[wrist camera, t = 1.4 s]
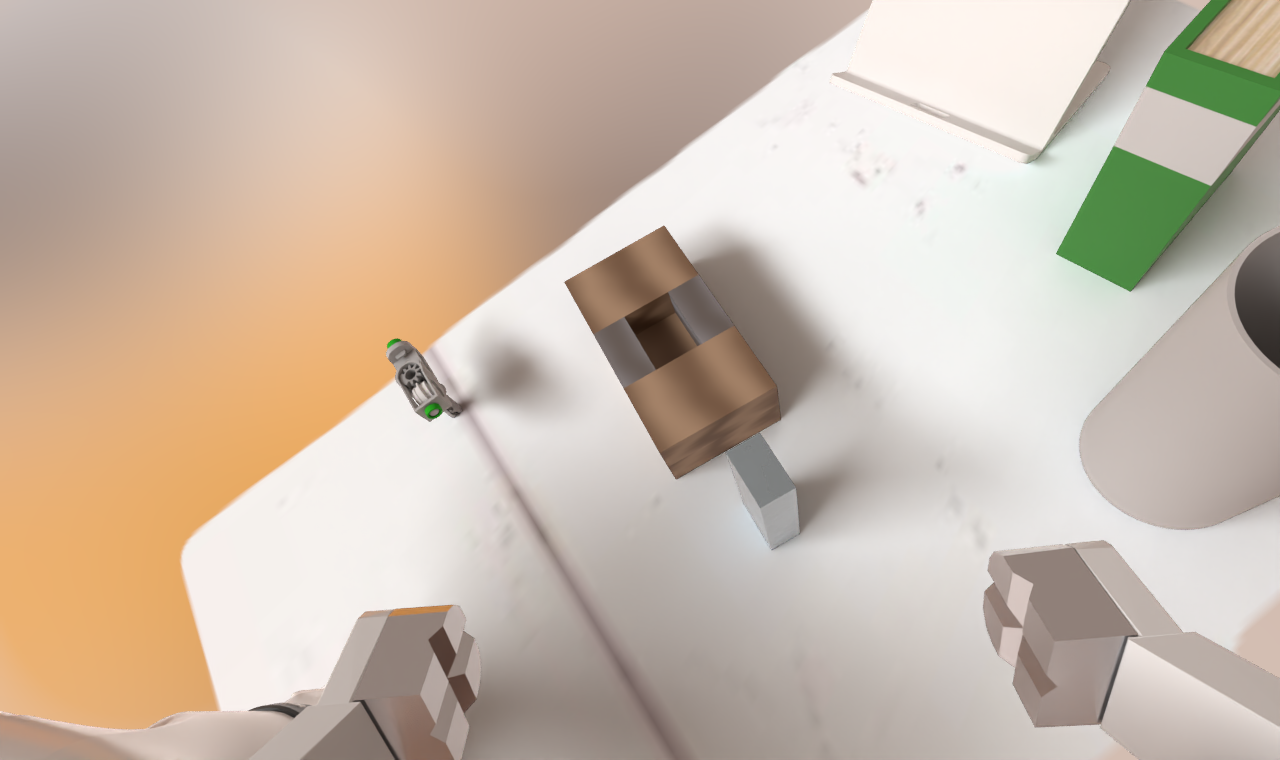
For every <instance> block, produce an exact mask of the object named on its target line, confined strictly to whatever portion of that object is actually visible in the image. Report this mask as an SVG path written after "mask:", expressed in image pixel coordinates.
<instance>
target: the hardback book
mask: <svg viewBox="0 0 1280 760" xmlns="http://www.w3.org/2000/svg"><path fill="white" fill-rule="evenodd" d="M1279 110H1280V0H1211V1H1210V2H1209V3H1208V4H1207V5H1206V6H1205V7H1204V8H1203V10H1202V11H1201V12H1200V13H1199V14H1198V15H1197V16H1196V17H1195V18H1194V19H1193V21H1192V22H1191V23H1190V24H1189V25H1188V26H1187V27H1186V28H1185V29H1184V30H1183V32H1182V33H1181V34H1180V35H1179V36H1178V37H1177V38H1176V39H1175V40H1174V41H1173V43H1172V44H1171V45H1170V46H1169V47H1168V48H1167V49H1166V50H1165V51H1164V53H1163V55H1162V57H1161V59H1160V61H1159V62H1158V64H1157V66H1156V68H1155V70H1154V72H1153V74H1152V76H1151V77H1150V79H1149V81H1148V83H1147V85H1146V87H1145V89H1144V90H1143V92H1142V94H1141V96H1140V98H1139V100H1138V102H1137V104H1136V105H1135V107H1134V109H1133V111H1132V113H1131V115H1130V117H1129V118H1128V120H1127V122H1126V124H1125V126H1124V128H1123V130H1122V132H1121V133H1120V135H1119V137H1118V139H1117V141H1116V143H1115V145H1114V146H1113V148H1112V150H1111V152H1110V154H1109V156H1108V158H1107V160H1106V161H1105V163H1104V165H1103V167H1102V169H1101V171H1100V173H1099V174H1098V176H1097V178H1096V180H1095V182H1094V184H1093V186H1092V188H1091V189H1090V191H1089V193H1088V195H1087V197H1086V199H1085V201H1084V202H1083V204H1082V206H1081V208H1080V210H1079V212H1078V214H1077V216H1076V217H1075V219H1074V221H1073V223H1072V225H1071V227H1070V229H1069V230H1068V232H1067V234H1066V236H1065V238H1064V240H1063V242H1062V244H1061V245H1060V247H1059V249H1058V251H1057V253H1056V254H1057V255H1059V256H1061V257H1063V258H1065V259H1067V260H1069V261H1071V262H1073V263H1075V264H1077V265H1079V266H1081V267H1083V268H1085V269H1087V270H1089V271H1091V272H1093V273H1095V274H1097V275H1099V276H1101V277H1103V278H1105V279H1107V280H1109V281H1110V282H1112V283H1114V284H1116V285H1118V286H1120V287H1122V288H1124V289H1126V290H1128V291H1130V292H1131V290H1132V289H1133V288H1134V287H1135V286H1136V284H1137V283H1138V282H1139V281H1140V280H1141V278H1142V277H1143V276H1144V275H1145V274H1146V273H1147V271H1148V270H1149V269H1150V268H1151V267H1152V265H1153V264H1154V263H1155V262H1156V261H1157V260H1158V258H1159V257H1160V256H1161V255H1162V254H1163V252H1164V251H1165V250H1166V249H1167V248H1168V246H1169V245H1170V244H1171V243H1172V242H1173V241H1174V239H1175V238H1176V237H1177V236H1178V235H1179V233H1180V232H1181V231H1182V230H1183V229H1184V227H1185V226H1186V225H1187V224H1188V223H1189V222H1190V220H1191V219H1192V218H1193V217H1194V216H1195V214H1196V213H1197V212H1198V211H1199V210H1200V209H1201V207H1202V206H1203V205H1204V204H1205V203H1206V201H1207V200H1208V199H1209V198H1210V197H1211V195H1212V194H1213V193H1214V192H1215V191H1216V190H1217V188H1218V187H1219V186H1220V185H1221V184H1222V182H1223V181H1224V180H1225V179H1226V178H1227V176H1228V175H1229V174H1230V173H1231V172H1232V171H1233V169H1234V168H1235V167H1236V165H1237V164H1238V163H1239V162H1240V160H1241V159H1242V158H1243V156H1244V155H1245V154H1246V153H1247V151H1248V150H1249V149H1250V148H1251V146H1252V145H1253V144H1254V142H1255V141H1256V140H1257V139H1258V137H1259V136H1260V135H1261V133H1262V132H1263V131H1264V130H1265V128H1266V127H1267V126H1268V125H1269V123H1270V122H1271V121H1272V119H1273V118H1274V117H1275V116H1276V114H1277V113H1278V112H1279Z"/></svg>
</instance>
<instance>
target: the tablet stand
mask: <svg viewBox="0 0 1280 760" xmlns="http://www.w3.org/2000/svg"><path fill="white" fill-rule="evenodd" d="M1130 1H1131V0H873V1H872V4H871V6H870V9H869V12H868V15H867V17H866V20H865V23H864V25H863V28H862V31H861V33H860V36H859V39H858V42H857V44H856V47H855V50H854V52H853V55H852V58H851V61H850V63H849V66H848V69H847V71H846V72H841V73H833V74H832V76H831V79H830V83H831V84H833V85H835V86H838V87H840V88H843V89H845V90H847V91H850V92H852V93H855V94H857V95H859V96H862V97H864V98H867V99H869V100H871V101H874V102H876V103H879V104H881V105H883V106H886V107H888V108H891V109H893V110H895V111H898V112H900V113H902V114H905V115H907V116H910V117H912V118H914V119H917V120H919V121H922V122H924V123H926V124H929V125H931V126H934V127H936V128H938V129H941V130H943V131H946V132H948V133H950V134H953V135H955V136H958V137H960V138H962V139H965V140H967V141H970V142H972V143H974V144H977V145H979V146H982V147H984V148H986V149H989V150H991V151H993V152H996V153H998V154H1001V155H1003V156H1005V157H1008V158H1010V159H1013V160H1015V161H1017V162H1020V163H1024V164H1028V163H1030V162H1031V161H1033V160H1035V159H1037V158H1038V156H1039V155H1040V154H1041V153H1042V152H1043V150H1044V149H1045V148H1046V147H1047V146H1048V144H1049V143H1050V142H1051V141H1052V140H1053V139H1054V137H1055V136H1056V135H1057V134H1058V133H1059V131H1060V130H1061V129H1062V128H1063V127H1064V126H1065V124H1066V123H1067V122H1068V121H1069V120H1070V118H1071V117H1072V116H1073V115H1074V114H1075V112H1076V111H1077V110H1078V109H1079V108H1080V107H1081V105H1082V104H1083V103H1084V102H1085V101H1086V99H1087V98H1088V97H1089V96H1090V95H1091V94H1092V92H1093V91H1094V90H1095V89H1096V88H1097V86H1098V85H1099V84H1100V83H1101V82H1102V80H1103V79H1104V78H1105V77H1106V76H1107V74H1108V72H1109V70H1110V66H1109V65H1108V64H1106V63H1103V62H1100V61H1097V58H1098V56H1099V55H1100V53H1101V51H1102V49H1103V48H1104V46H1105V44H1106V43H1107V41H1108V39H1109V37H1110V36H1111V34H1112V32H1113V31H1114V29H1115V27H1116V25H1117V24H1118V22H1119V20H1120V19H1121V17H1122V15H1123V13H1124V12H1125V10H1126V8H1127V7H1128V5H1129V3H1130Z"/></svg>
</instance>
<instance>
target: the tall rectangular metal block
mask: <svg viewBox="0 0 1280 760" xmlns="http://www.w3.org/2000/svg"><path fill="white" fill-rule="evenodd" d="M726 455H727V458H728V460H729V463H730V466H731V469H732V472H733V475H734V478H735V480H736V483H737V486H738V489H739V492H740V495H741V497H742V500H743V503H744V505H745V507H746V508H747V510H748V512H749V513H750V515H751V517H752V518H753V520H754V522H755V523H756V525H757V527H758V528H759V530H760V532H761V533H762V535H763V537H764V538H765V540H766V542H767V543H768V545H769V547H770V548H771V550H773V549H774V548H776V547H778V546H780V545H781V544H783V543H785V542H787V541H788V540H790V539H792V538H794V537H795V536H797V535H799V534H800V528H799V516H798V505H797V493H796V487H795V485H794V484H793V482H792V481H791V479H790V478H789V476H788V475H787V473H786V472H785V470H784V469H783V467H782V466H781V464H780V463H779V461H778V459H777V458H776V456H775V455H774V453H773V452H772V450H771V449H770V447H769V446H768V444H767V443H766V441H765V440H764V438H763V437H762V435H761V434H760V433H759V434H757V435H755V436H753V437H751V438H750V439H748V440H746V441H744V442H743V443H741V444H739V445H737V446H736V447H734V448H732V449H730V450H729V451H727V452H726Z"/></svg>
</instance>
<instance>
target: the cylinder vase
mask: <svg viewBox="0 0 1280 760" xmlns="http://www.w3.org/2000/svg"><path fill="white" fill-rule="evenodd" d="M1079 450H1080V457H1081V461H1082V464H1083V467H1084V470H1085V472H1086V474H1087V476H1088V478H1089V479H1090V481H1091V482H1092V484H1093V485H1094V487H1095V488H1096V489H1097V490H1098V492H1099V493H1100V494H1101V495H1102V496H1103V497H1104V498H1105V499H1106V500H1107V501H1109V502H1110V503H1111V504H1112V505H1113V506H1115V507H1116V508H1118V509H1119V510H1121V511H1122V512H1124V513H1125V514H1127V515H1129V516H1131V517H1133V518H1135V519H1137V520H1140V521H1142V522H1145V523H1147V524H1151V525H1154V526H1158V527H1162V528H1168V529H1178V530H1190V529H1200V528H1205V527H1209V526H1213V525H1216V524H1218V523H1221V522H1223V521H1225V520H1227V519H1230V518H1232V517H1234V516H1236V515H1239V514H1241V513H1243V512H1245V511H1248V510H1250V509H1252V508H1254V507H1256V506H1259V505H1261V504H1263V503H1265V502H1268V501H1270V500H1272V499H1274V498H1276V497H1279V496H1280V226H1278V227H1276V228H1274V229H1272V230H1270V231H1268V232H1266V233H1264V234H1263V235H1261V236H1259V237H1258V238H1257V239H1255V240H1254V241H1253V242H1252V243H1250V244H1249V245H1248V246H1247V247H1246V248H1245V249H1244V250H1243V251H1242V252H1241V253H1240V255H1239V256H1238V257H1237V258H1236V259H1235V260H1234V261H1233V262H1232V263H1231V264H1230V265H1229V266H1228V267H1227V268H1226V269H1225V270H1224V271H1223V273H1222V274H1221V275H1220V276H1219V277H1218V278H1217V279H1216V280H1215V281H1214V282H1213V283H1212V284H1211V285H1210V286H1209V287H1208V288H1207V289H1206V291H1205V292H1204V293H1203V294H1202V295H1201V296H1200V297H1199V298H1198V299H1197V300H1196V301H1195V302H1194V303H1193V304H1192V305H1191V306H1190V308H1189V309H1188V310H1187V311H1186V312H1185V313H1184V314H1183V315H1182V316H1181V317H1180V318H1179V319H1178V320H1177V321H1176V322H1175V323H1174V324H1173V326H1172V327H1171V328H1170V329H1169V330H1168V331H1167V332H1166V333H1165V334H1164V335H1163V336H1162V337H1161V338H1160V339H1159V340H1158V341H1157V342H1156V344H1155V345H1154V346H1153V347H1152V348H1151V349H1150V350H1149V351H1148V352H1147V353H1146V354H1145V355H1144V356H1143V357H1142V358H1141V359H1140V360H1139V362H1138V363H1137V364H1136V365H1135V366H1134V367H1133V368H1132V369H1131V370H1130V371H1129V372H1128V373H1127V374H1126V375H1125V376H1124V377H1123V379H1122V380H1121V381H1120V382H1119V383H1118V384H1117V385H1116V386H1115V387H1114V388H1113V389H1112V390H1111V391H1110V392H1109V393H1108V394H1107V395H1106V397H1105V398H1104V399H1103V400H1102V401H1101V402H1100V403H1099V404H1098V405H1097V406H1096V407H1095V408H1094V409H1093V410H1092V412H1091V413H1090V414H1089V415H1088V417H1087V419H1086V420H1085V422H1084V424H1083V427H1082V430H1081V434H1080V440H1079Z"/></svg>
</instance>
